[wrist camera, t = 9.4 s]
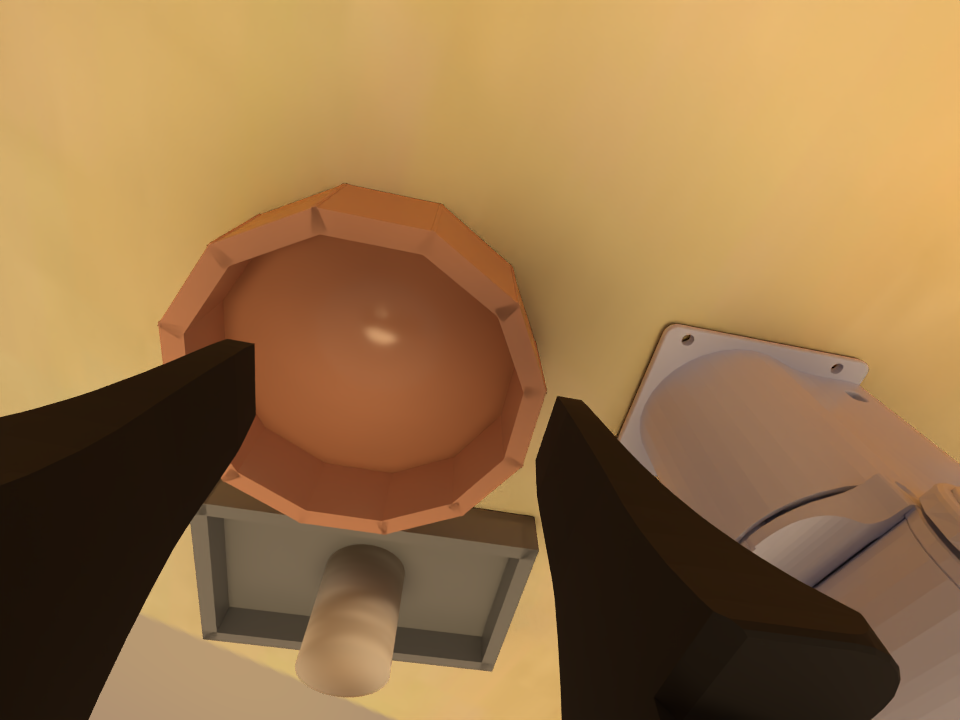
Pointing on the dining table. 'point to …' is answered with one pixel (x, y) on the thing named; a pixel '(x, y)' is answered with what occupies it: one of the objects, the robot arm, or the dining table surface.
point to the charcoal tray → (307, 548)
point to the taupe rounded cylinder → (353, 623)
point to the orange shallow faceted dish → (368, 358)
